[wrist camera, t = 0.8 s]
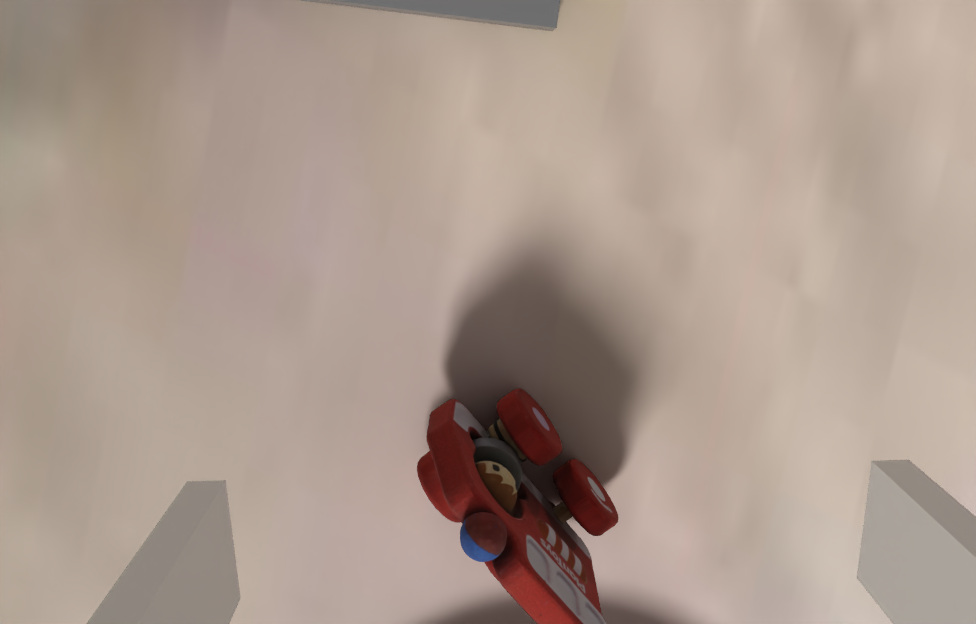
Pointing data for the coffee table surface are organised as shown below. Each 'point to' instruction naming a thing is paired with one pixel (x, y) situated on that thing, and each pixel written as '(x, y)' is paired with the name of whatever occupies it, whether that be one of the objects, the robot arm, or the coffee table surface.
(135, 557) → the robot arm
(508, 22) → the frame
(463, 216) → the coffee table surface
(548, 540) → the toy fire truck
